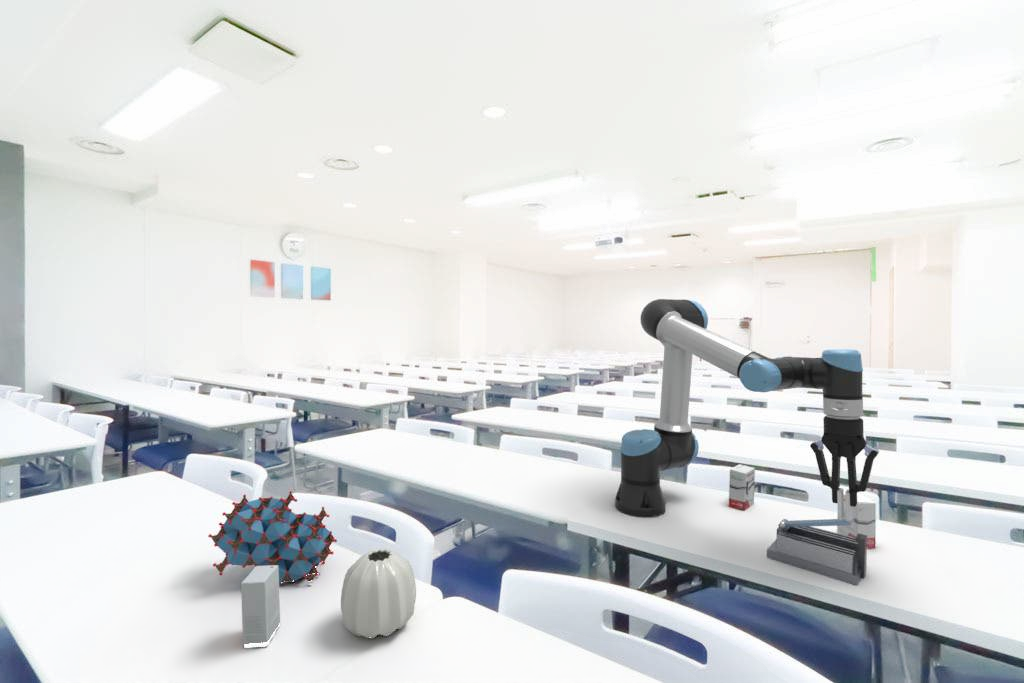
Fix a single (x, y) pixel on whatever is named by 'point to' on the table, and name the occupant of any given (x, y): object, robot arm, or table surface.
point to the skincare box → (260, 604)
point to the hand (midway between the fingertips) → (844, 518)
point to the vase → (378, 594)
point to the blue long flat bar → (813, 523)
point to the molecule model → (274, 538)
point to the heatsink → (821, 552)
